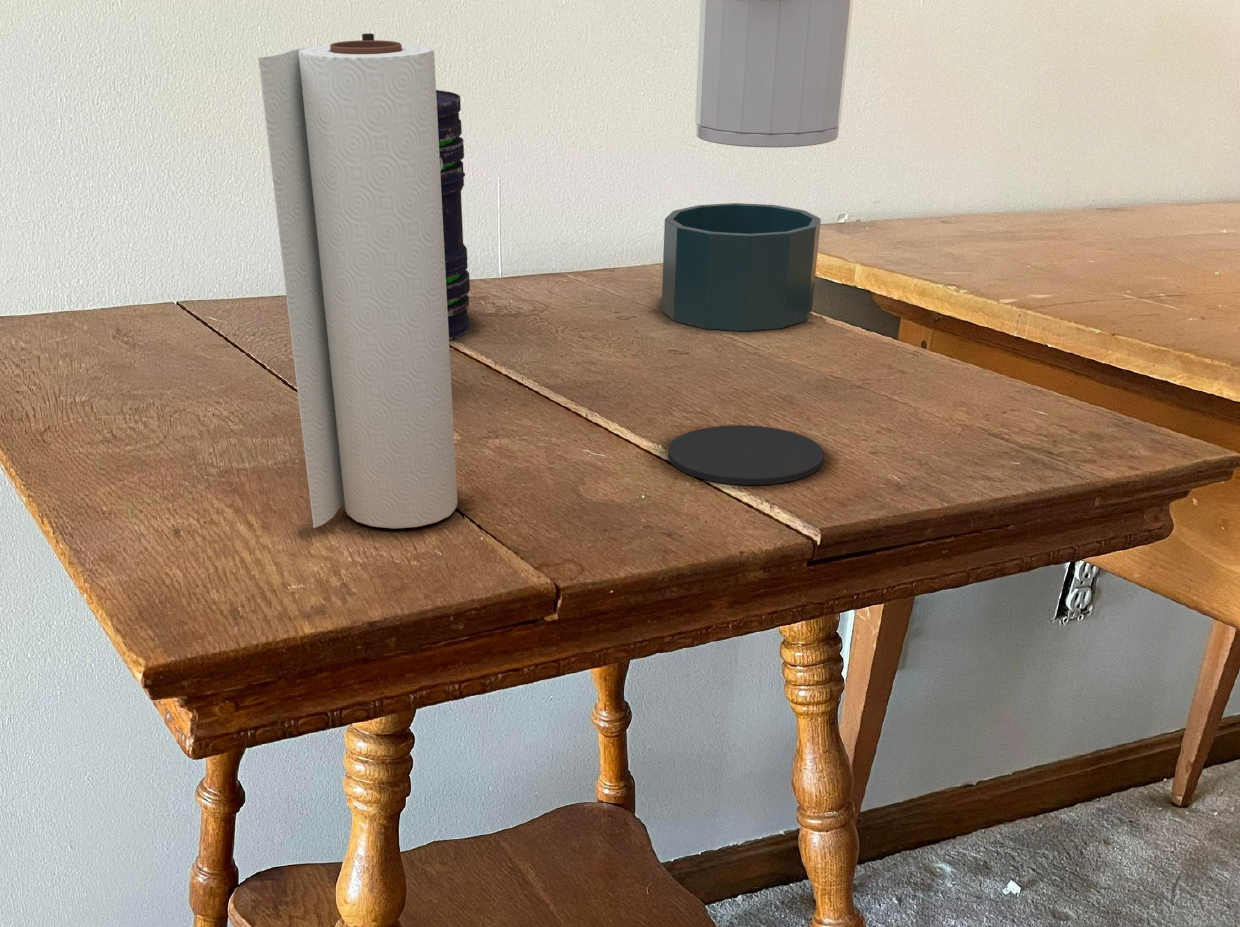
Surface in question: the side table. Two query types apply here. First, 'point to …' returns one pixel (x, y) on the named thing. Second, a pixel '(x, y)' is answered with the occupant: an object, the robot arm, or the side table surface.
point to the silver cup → (771, 71)
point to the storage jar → (453, 212)
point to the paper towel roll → (365, 276)
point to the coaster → (745, 455)
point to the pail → (739, 266)
